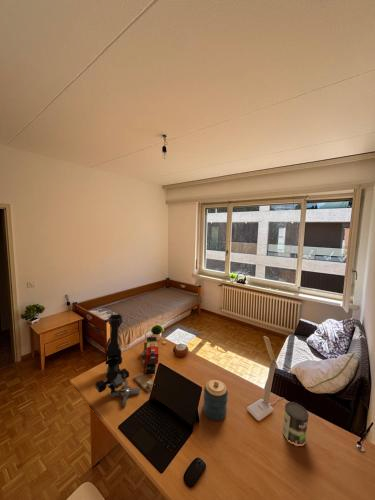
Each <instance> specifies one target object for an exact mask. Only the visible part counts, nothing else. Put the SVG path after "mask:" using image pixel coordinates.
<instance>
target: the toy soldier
mask: <svg viewBox="0 0 375 500" xmlns="http://www.w3.org/2000/svg"><path fill="white" fill-rule="evenodd" d="M141 356H143V359H142V364H141V365H142V367H143V375H144V376H145V377H146V376H149V375H150V376H151V375H155V374H156V365H159V346H158V341H157V336H147V337H146V341H144V342H143V350H142V351H141ZM145 358H146V359H145ZM145 366H146V367H145ZM145 368H146V369H145ZM145 370H146V371H145Z"/></svg>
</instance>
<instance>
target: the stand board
mask: <svg viewBox="0 0 375 500" xmlns="http://www.w3.org/2000/svg"><path fill="white" fill-rule="evenodd" d="M133 381H134V382H135V383H136V384H138V385H139V387H140V388H142V389H143V390H144V392H146V393H147V394H150V393H151V392H152V391H151V389H152V386H153V384H154V383H153V382H152V381H151V380H150V379H149V378H148V377H147V376H146V375H145V376H144V373H142V372H140V373H138V374H137V375H135V376H133Z"/></svg>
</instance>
